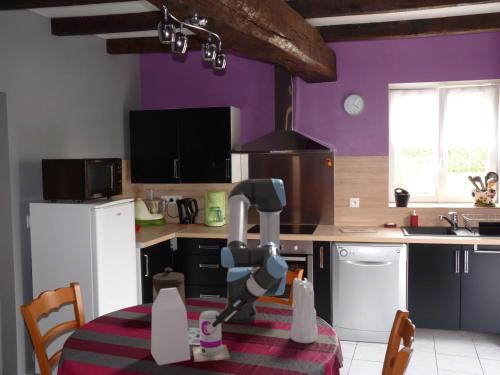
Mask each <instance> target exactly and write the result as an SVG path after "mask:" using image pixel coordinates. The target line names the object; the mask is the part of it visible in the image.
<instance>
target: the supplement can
mask: <svg viewBox="0 0 500 375" xmlns="http://www.w3.org/2000/svg"><path fill="white" fill-rule="evenodd" d="M220 314H221V313H220V312H219V311H218V310H212V309H211V310H204V311H202V312H201V313H200V315H199V317H198V318H199V319H198V320H199V321H198V322H199V324H198V325H199V347H200V352H201V353H202V354H204V355H209V356H211V355H217V354H219V353H220V352H221V350H222V345H223V343H222V342H223V341H222V338H223V336H222V323H221V324H220V325H219V326H218V327H217V328H216V329H215V330H214V331H213V332H212V333H211V334H210V333H209V331H208V330H207V329H206V327H207V326H208V325H209V324H210V323H211V322H212V321H214V320H215V319H216V317H215V316H216V315H217V316H219V315H220Z"/></svg>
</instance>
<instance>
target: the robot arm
mask: <svg viewBox="0 0 500 375" xmlns="http://www.w3.org/2000/svg"><path fill="white" fill-rule="evenodd" d="M285 192H286V191H285V186H284V181H283V180H282V179H279V178H250V179H249V178H247V179H244V180H242V181H240V182H238V183H237V184H236V185H235V186H233V188H232V189H231V190H230V192H229V195H228V196H227V208H228V209H229V210H228V211H229V212H228V214H229V215H228V229H227V245H226V247H225V246H224V247H222V248H221V251H220V259H221V261H220V262H221V263H220V264H221V266H222V267H223V268H230V269H229V270H228V271H227V273H226V274H227V276H226V277H227V278H226V282H227V286H226V288H227V290H226V291H227V297H226V298H227V302H226V305H225V309H224V310H223V311H222V312H221V313H220V315H219V316H217V315H216V316H215V317H216V319H215V320H214V321H212V322H211V323H210V324H209V325H208V326H207V327H206V329H207V330H208V331H209V333H210V334H211V333H212V332H213V331H214V330H215V329H216V328H217V327H218V326H219V325H220V324H221V325H222V324H223V323H224V322H229V323H235V324H247V323H251V322H253V321H256V320H257V319H258V312H257V309H256V306H255V303H256V301H258V299H260V298H261V297H263V296H267V297H268V296H272V297H274V296H282V295H283V294H284V292H285V288H286V282H287V272H288V269H289V267H288V264H287V262H286V260H285V259H284V258H283V257H282V256H281V252H280V213H281V212H282V211H283V209H284V208H283V207H285V206H287V201H286V193H285ZM250 207H255V208H256V211H257V212H258V213H259V237H260V238H259V239H260V242H259V244H260V246H258V247H257V246H255V247H249V246H248V213H249V212H248V210H249V209H250ZM254 268H257V269H254Z"/></svg>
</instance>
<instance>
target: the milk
mask: <svg viewBox="0 0 500 375" xmlns="http://www.w3.org/2000/svg"><path fill="white" fill-rule="evenodd" d="M188 325H189V324H188V314H187V308H186V305H185V306H184V303H183V301H182V299H181V297H180V295H179V292H178V290H177V288H176V287H175V288H168V289H160V292H159V294H158V297H157V298H156V300H155V302H154V303H152V306H151V334H150V335H151V336H150V337H151V340H150V341H151V343H150V344H151V345H150V346H151V347H150V349H151V350H150V354H151V355H152V357H153V359H154V361H155V362H156V364H157V366H163V365H169V364H173V363H179V362H184V361H189V360H190V361H191V351H190V339H189V326H188Z"/></svg>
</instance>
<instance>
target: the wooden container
mask: <svg viewBox="0 0 500 375" xmlns="http://www.w3.org/2000/svg"><path fill="white" fill-rule="evenodd" d="M172 271H173V268H171V267H169V266H167V267H165V268H164V272H161V273H160V272H159V273H156V274H154V275H153V276H152V300H153V303H154V302H155V300H156V298H157V297H158V294H159V292H160V289H168V288H175V287H176V288H177V290H178V292H179V295H180V297H181V299H182V301H183V303H184V306H185V307H186V295H185V294H186V293H185V292H186V291H185V274H183V273H181V272H174V271H173V272H172ZM153 303H152V304H153Z"/></svg>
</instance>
